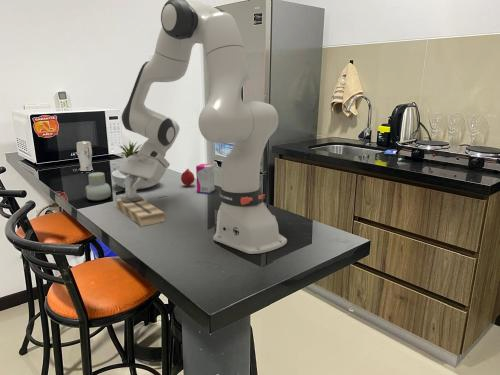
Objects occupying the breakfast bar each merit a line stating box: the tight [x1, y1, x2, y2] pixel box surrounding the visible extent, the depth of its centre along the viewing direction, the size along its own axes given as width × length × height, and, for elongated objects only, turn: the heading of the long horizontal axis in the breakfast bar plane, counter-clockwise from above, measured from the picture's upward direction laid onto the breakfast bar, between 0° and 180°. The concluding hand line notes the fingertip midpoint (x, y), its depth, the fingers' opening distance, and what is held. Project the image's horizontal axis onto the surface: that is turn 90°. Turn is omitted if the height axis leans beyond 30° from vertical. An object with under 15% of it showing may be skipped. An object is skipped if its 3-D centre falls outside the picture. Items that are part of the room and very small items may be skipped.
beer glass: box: [76, 140, 94, 171], centre depth 193 cm, size 7×7×15 cm
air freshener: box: [84, 171, 112, 202], centre depth 148 cm, size 11×8×10 cm
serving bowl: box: [111, 169, 159, 191], centre depth 165 cm, size 21×21×7 cm
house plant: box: [119, 141, 143, 159], centre depth 189 cm, size 14×14×16 cm
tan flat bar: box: [115, 198, 166, 227], centre depth 131 cm, size 24×8×3 cm, turn 37°
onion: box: [180, 168, 195, 187], centre depth 166 cm, size 6×6×8 cm
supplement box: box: [195, 163, 216, 195], centre depth 158 cm, size 6×6×12 cm
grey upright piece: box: [120, 177, 143, 203], centre depth 135 cm, size 4×6×8 cm, turn 127°
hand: (129, 187), depth 134 cm, fingers closed on grey upright piece, 3 cm apart
